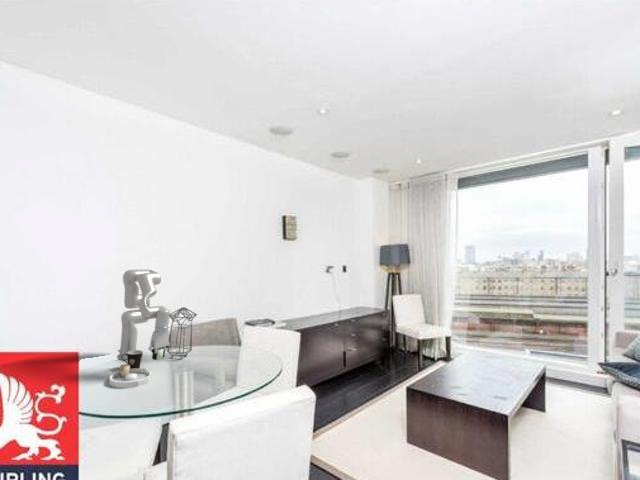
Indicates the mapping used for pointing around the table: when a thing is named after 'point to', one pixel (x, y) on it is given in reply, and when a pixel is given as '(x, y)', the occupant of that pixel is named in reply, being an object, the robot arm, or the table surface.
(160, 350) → the sage bead
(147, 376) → the groove tray
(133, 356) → the coffee mug
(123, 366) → the birch bead
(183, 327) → the geometric lantern
